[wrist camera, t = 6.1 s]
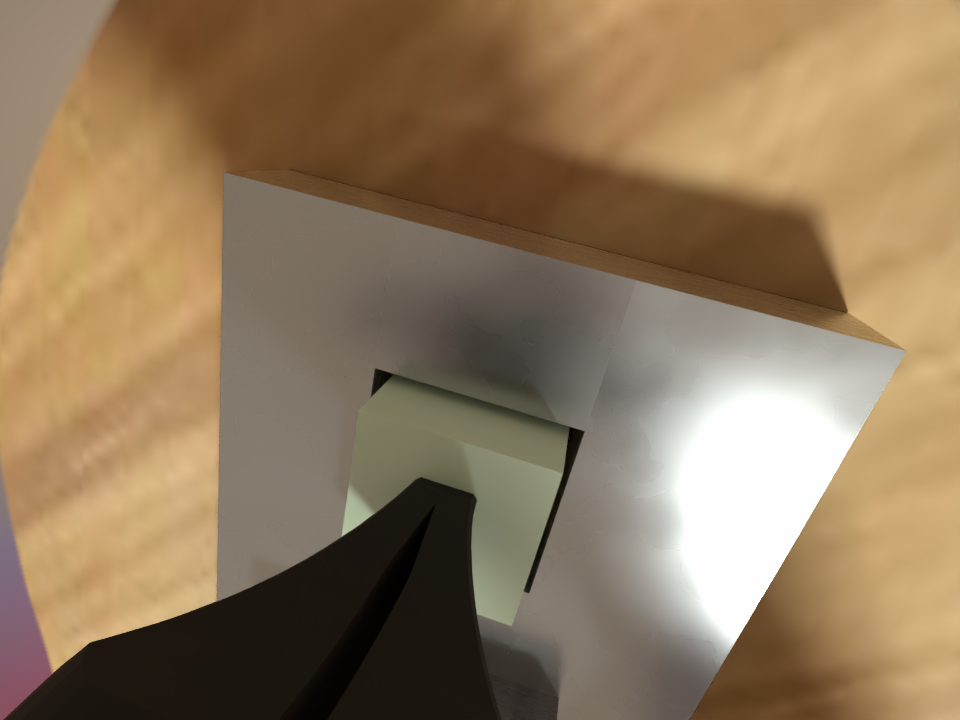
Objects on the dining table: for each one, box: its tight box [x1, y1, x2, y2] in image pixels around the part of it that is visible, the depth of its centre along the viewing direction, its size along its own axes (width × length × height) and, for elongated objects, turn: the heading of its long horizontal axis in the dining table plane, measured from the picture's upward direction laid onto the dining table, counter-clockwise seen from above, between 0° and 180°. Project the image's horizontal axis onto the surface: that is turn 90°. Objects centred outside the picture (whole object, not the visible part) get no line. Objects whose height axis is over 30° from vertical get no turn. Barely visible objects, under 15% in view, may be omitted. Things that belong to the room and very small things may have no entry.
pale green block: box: [342, 374, 569, 626], centre depth 13 cm, size 4×4×4 cm
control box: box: [217, 169, 906, 720], centre depth 15 cm, size 14×22×4 cm, turn 168°
